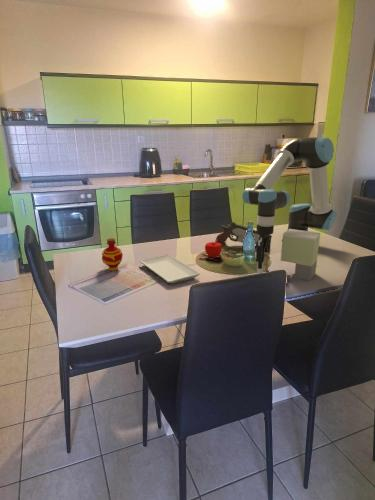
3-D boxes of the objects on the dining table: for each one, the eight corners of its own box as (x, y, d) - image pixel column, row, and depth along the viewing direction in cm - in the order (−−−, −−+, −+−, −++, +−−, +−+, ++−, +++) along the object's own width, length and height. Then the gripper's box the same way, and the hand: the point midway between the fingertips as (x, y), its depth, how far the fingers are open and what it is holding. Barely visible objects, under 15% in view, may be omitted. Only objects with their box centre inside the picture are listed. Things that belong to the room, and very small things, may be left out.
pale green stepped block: (284, 267, 169) (288, 228, 163) (315, 273, 162) (320, 233, 155) (277, 274, 161) (281, 233, 155) (309, 280, 154) (315, 238, 147)
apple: (202, 258, 182) (202, 244, 180) (208, 253, 190) (208, 240, 187) (218, 260, 179) (219, 246, 176) (223, 255, 187) (224, 241, 184)
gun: (258, 258, 201) (267, 234, 195) (214, 243, 203) (222, 219, 198) (258, 255, 205) (267, 232, 200) (215, 240, 208) (223, 217, 202)
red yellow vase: (127, 266, 172) (125, 237, 167) (117, 273, 163) (114, 243, 158) (109, 263, 175) (107, 235, 170) (98, 271, 166) (95, 241, 161)
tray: (168, 288, 148) (168, 281, 146) (139, 266, 173) (138, 259, 172) (200, 280, 156) (201, 273, 155) (168, 259, 181) (168, 253, 180)
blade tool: (259, 271, 163) (260, 251, 160) (290, 277, 156) (292, 256, 152) (256, 273, 160) (257, 253, 157) (288, 280, 152) (290, 259, 149)
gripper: (264, 219, 162) (260, 265, 169) (250, 227, 148) (247, 277, 156) (279, 221, 158) (275, 268, 166) (266, 230, 144) (263, 280, 152)
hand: (261, 272), depth 161 cm, fingers closed on blade tool, 4 cm apart
